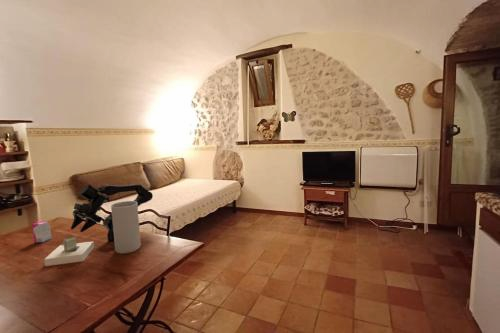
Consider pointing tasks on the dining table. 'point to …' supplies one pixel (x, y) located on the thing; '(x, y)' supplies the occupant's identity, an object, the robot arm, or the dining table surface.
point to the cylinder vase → (126, 226)
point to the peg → (70, 244)
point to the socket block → (69, 254)
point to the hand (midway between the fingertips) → (76, 230)
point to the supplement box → (41, 231)
